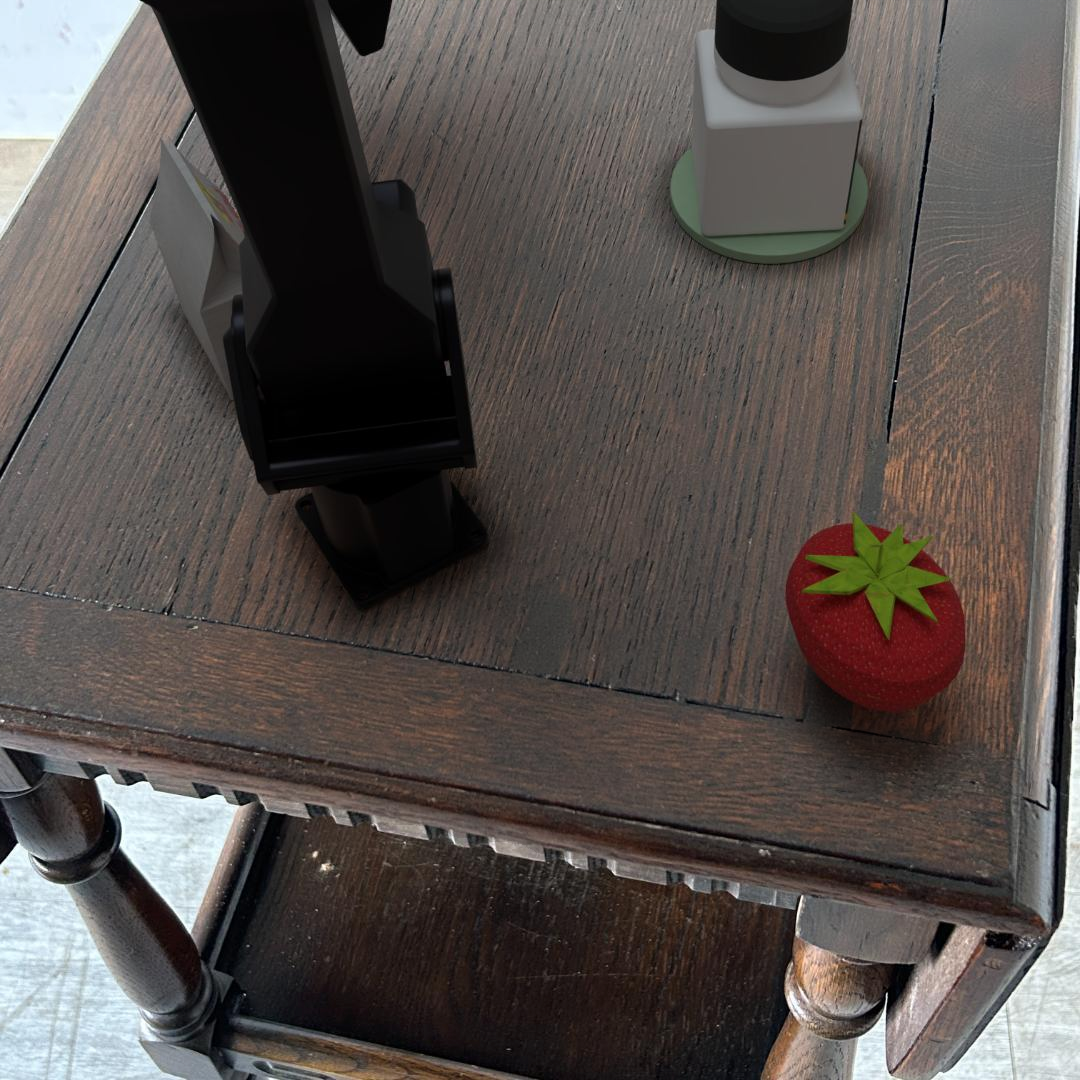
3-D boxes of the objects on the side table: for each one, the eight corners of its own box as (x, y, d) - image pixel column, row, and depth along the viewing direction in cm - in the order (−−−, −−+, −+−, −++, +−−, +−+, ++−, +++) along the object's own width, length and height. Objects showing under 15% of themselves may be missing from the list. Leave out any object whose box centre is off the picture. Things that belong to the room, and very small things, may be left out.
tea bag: (231, 400, 66) (174, 242, 58) (183, 311, 70) (122, 150, 61) (303, 370, 67) (257, 210, 59) (252, 283, 70) (201, 121, 62)
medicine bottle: (846, 232, 69) (880, 20, 59) (701, 240, 70) (712, 30, 60) (827, 137, 73) (856, -76, 64) (690, 145, 74) (698, -66, 64)
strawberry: (846, 795, 53) (884, 663, 45) (741, 643, 57) (758, 498, 49) (975, 728, 54) (1035, 588, 46) (863, 584, 58) (900, 433, 50)
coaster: (907, 212, 71) (909, 203, 70) (745, 292, 68) (745, 283, 68) (787, 107, 76) (788, 98, 75) (632, 178, 73) (632, 169, 73)
